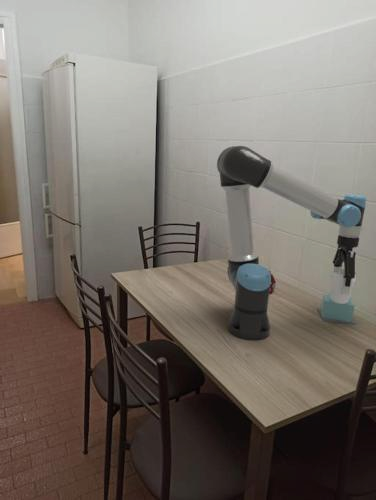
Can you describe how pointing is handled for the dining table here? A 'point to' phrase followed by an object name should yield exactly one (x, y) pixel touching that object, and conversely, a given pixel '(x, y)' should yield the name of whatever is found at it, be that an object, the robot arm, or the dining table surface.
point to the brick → (337, 309)
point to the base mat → (335, 320)
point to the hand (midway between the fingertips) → (339, 287)
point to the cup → (339, 286)
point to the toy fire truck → (272, 284)
